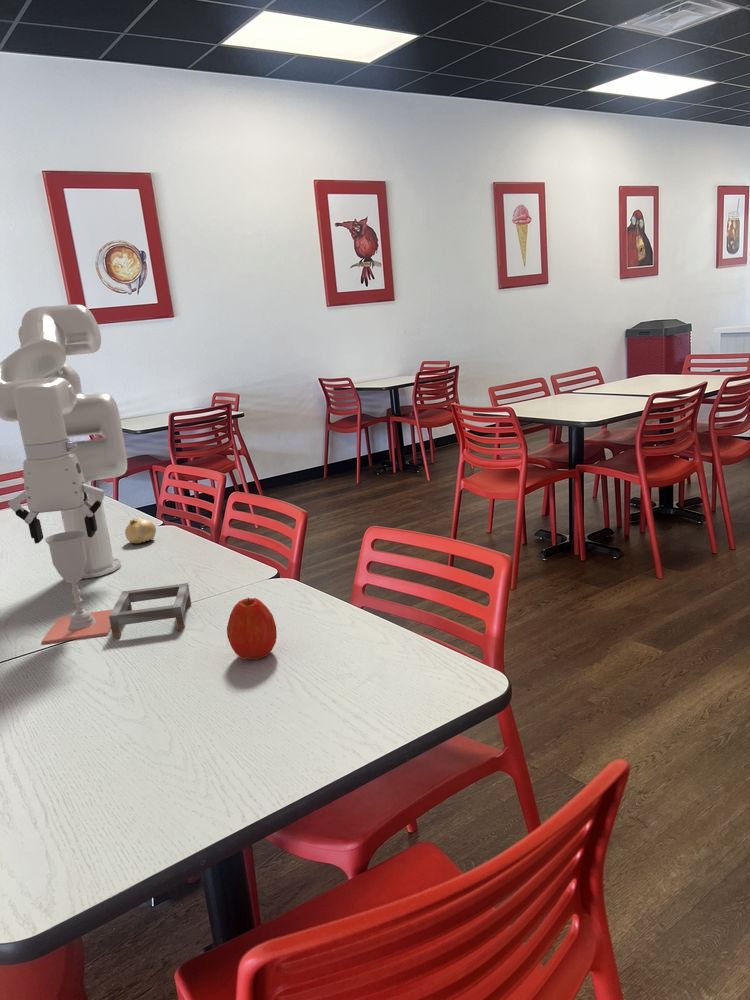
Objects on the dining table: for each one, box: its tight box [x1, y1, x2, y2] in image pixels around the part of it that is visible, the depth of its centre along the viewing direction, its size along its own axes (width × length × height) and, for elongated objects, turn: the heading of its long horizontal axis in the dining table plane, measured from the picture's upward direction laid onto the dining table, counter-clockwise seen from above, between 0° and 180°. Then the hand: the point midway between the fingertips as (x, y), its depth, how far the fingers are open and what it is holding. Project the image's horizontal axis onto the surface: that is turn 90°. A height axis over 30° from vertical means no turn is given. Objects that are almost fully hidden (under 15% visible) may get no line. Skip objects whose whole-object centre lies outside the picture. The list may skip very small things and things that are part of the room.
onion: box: [124, 517, 157, 544], centre depth 194 cm, size 8×8×7 cm
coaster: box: [40, 608, 113, 645], centre depth 139 cm, size 12×12×1 cm
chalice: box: [44, 531, 96, 629], centre depth 137 cm, size 7×7×18 cm
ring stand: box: [109, 582, 192, 640], centre depth 139 cm, size 13×13×5 cm
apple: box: [226, 597, 277, 660], centre depth 119 cm, size 8×8×11 cm
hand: (65, 538), depth 136 cm, fingers open, 9 cm apart
